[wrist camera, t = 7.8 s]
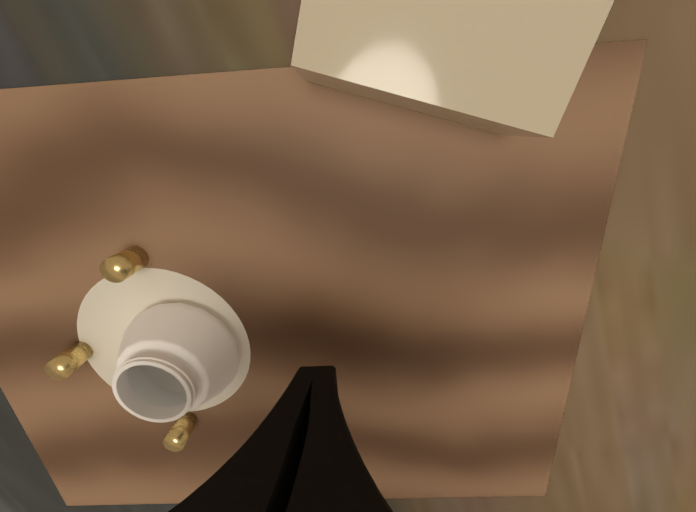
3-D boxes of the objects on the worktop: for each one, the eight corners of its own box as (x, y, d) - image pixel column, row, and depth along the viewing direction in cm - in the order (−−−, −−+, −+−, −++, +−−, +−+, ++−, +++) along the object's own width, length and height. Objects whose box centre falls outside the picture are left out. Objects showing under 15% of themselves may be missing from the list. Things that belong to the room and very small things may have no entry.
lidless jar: (230, 295, 14) (118, 301, 15) (200, 335, 12) (64, 341, 12) (250, 386, 16) (151, 390, 16) (228, 439, 13) (110, 442, 14)
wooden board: (536, 477, 19) (560, 524, 17) (79, 488, 21) (45, 533, 18) (624, 46, 12) (690, 26, 9) (-123, 103, 13) (-227, 98, 10)
